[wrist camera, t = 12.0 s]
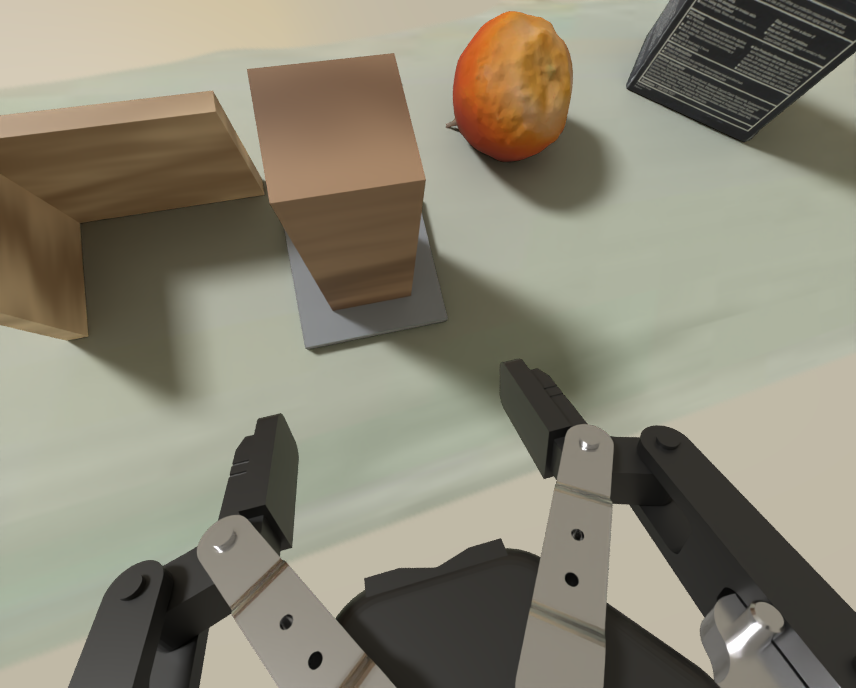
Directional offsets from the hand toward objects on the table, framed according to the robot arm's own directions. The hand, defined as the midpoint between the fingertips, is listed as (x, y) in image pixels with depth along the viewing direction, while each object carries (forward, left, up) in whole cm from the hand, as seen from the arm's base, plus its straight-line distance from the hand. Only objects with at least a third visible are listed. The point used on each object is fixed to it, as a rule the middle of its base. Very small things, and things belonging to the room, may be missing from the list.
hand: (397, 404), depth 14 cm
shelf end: (-17, +5, -10) cm, 20 cm away
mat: (-5, +8, -10) cm, 13 cm away
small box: (+15, +31, -10) cm, 36 cm away
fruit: (+1, +21, -10) cm, 23 cm away
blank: (-5, +8, -9) cm, 13 cm away
